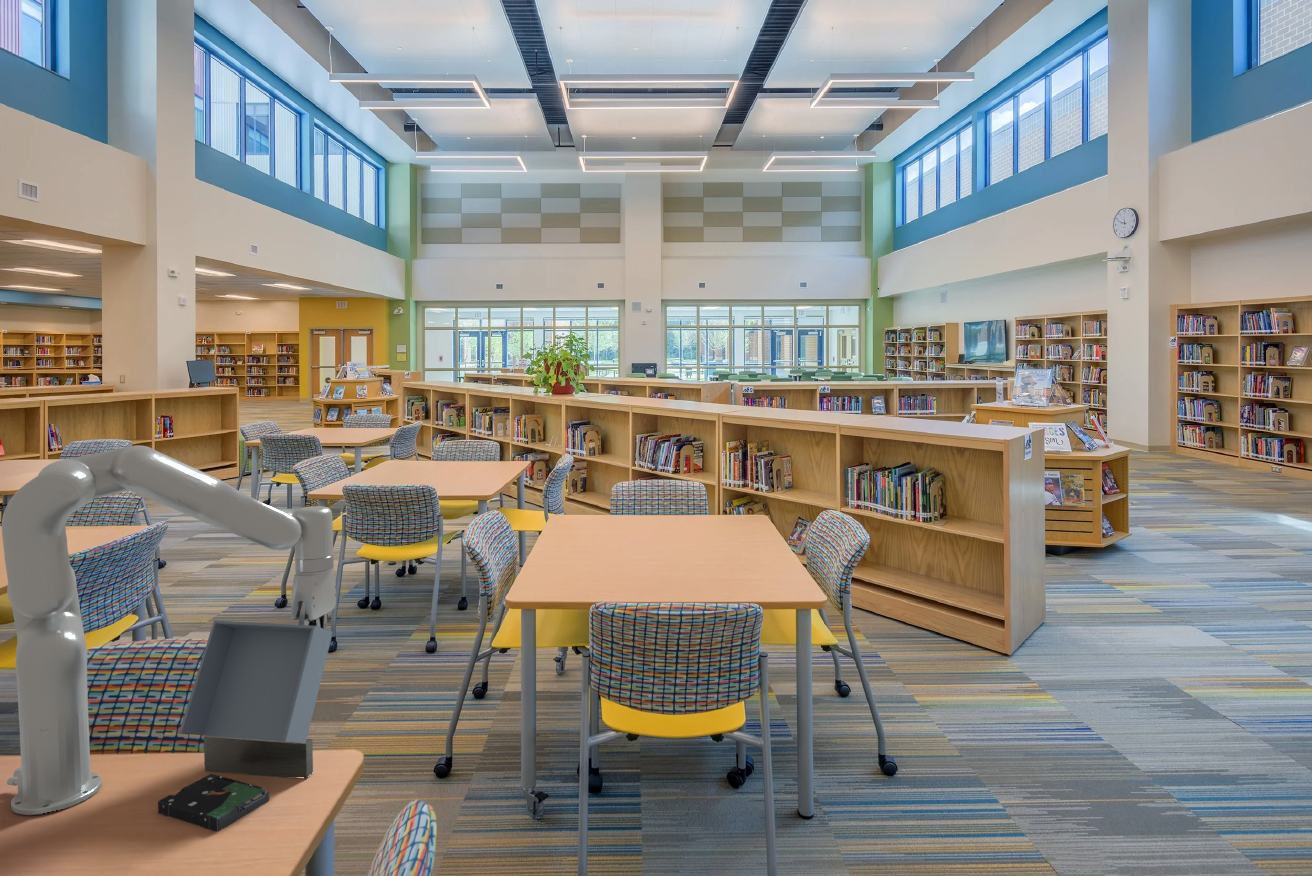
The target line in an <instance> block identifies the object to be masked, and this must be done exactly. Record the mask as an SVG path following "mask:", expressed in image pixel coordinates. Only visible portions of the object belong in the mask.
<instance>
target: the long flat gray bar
mask: <svg viewBox="0 0 1312 876" xmlns="http://www.w3.org/2000/svg"><path fill="white" fill-rule="evenodd" d="M313 751H314V750H313V739H312V738H307V740H306V743H301V742H287V741H273V740H260V739H246V738H232V737H218V736H204V735H203V755H204V757H203V758H204V771H205V772H210V773H211V772H212V773H226V774H236V775H237V774H239V775H249V776H250V775H251V776H260V777H261V776H262V777H274V776H278V777H277V778H286V777H304V778H307V777H308V776H309V775H310V774H312V772H313V773H314V757H313V756H314V755H313ZM312 775H313V774H312Z"/></svg>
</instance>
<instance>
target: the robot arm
mask: <svg viewBox="0 0 1312 876" xmlns="http://www.w3.org/2000/svg"><path fill="white" fill-rule="evenodd" d="M128 491H130V492H132V493H134V494H136V495H139V496H141V497H144V498H146V499H148V500H151V501H152V502H156V503H159V504H161V505H163V506H165V507H167V508H171V509H173V510H175V511H177V512H179V513H182V514H184V515H187V516H189V517H191V518H194V519H195V520H199V522H203V523H205V524H208V525H211V526H214V527H217V528H220V529H222V530H225V531H227V532H228V533H231V534H234V535H236V536H238V537H240V538H243V539H244V540H247V541H250V542H252V543H254V544H257V545H260V546H262V547H264V548H267V549H269V550H272V551H279V552H281V551H287V550H289V549H291V548H293V547H294V569H295V570H294V572H295V573H294V574H293V575H294V576H293V579H292V586H291V587H292V588H291V605H290V613H291V614H290V615H291V616H290V617H291V619H292V620H293V621H297V620H298V625H310V626H317V627H320V628H323V629H326V628H327V624H328V623H327V622H328V618H329V616H331V615H332V614H333V610H334V609H335V608H336V606H337V590H336V589H337V588H336V585H337V584H336V579H335V578H336V577H335V572H334V571H335V570H334V567H335V566H334V563H335V562H334V532H333V531H334V529H333V528H334V526H333V512H332V509H331V508H329V507H328V506H321V505H313V506H311V505H310V506H304V507H301V508H275V507H273V506H270V505H268V504H266V503H263V502H262V501H259V500H258V499H256V498H254V497H252V496H249V495H247V494H245V493H243V492H242V491H240V490H238V489H237V488H235V487H234V486H232V485H231V484H228V483H227V482H225V481H223V480H221V479H219V478H217V477H215V476H212V475H210V474H208V473H206V472H204V471H202V470H200V469H197V468H195V467H193V466H191V465H189V464H186V463H184V462H182V461H180V460H177V459H175V458H174V457H172V456H169V455H166V454H165V453H163V452H161V451H158V450H156V449H153V448H152V447H150V446H146V445H139V444H138V445H130V446H125V447H121V448H120V447H119V448H117V449H112V450H106V451H102V452H97V453H92V454H87V455H80V456H77V457H76V456H75V457H71V458H66V459H65V458H64V459H60V460H57V461H55V462H52V463H50V464H48V465H46V466H45V467H44V468H42V469H41V471H39V473H38V474H37V476H36V477H33V478H32V479H31V480H29V481H28V482H26V483H25V484H23V485H22V486H21V487H20V488H19V489H18V490H17V491H16V492H15V493H14V494H13V496H12V497H10V499H9V501H8V503H7V505H6V506H5V508H4V510H3V515H2V518H1V519H2V520H1V537H2V544H3V545H2V547H3V556H4V564H5V569H6V576H7V577H6V578H7V591H6V594H7V598H8V600H9V603H10V605H11V608H12V614H13V615H12V616H13V620H14V625H15V631H16V632H15V633H16V639H17V642H16V649H15V650H16V651H15V675H16V676H15V677H16V685H17V686H16V688H17V704H18V705H17V706H18V707H17V708H18V710H17V711H18V721H19V722H18V723H19V724H18V725H19V744H20V766H21V767H18V768H16V769H15V770H14V771H13V776H10V777H9V778H8V779H7V780H6V785H8V786H17V793H16V794H15V795H14V796H13V797H12V799H11V802H10V806H11V808H10V809H11V810H12V812H14V813H16V814H19V815H23V816H24V815H25V816H36V815H43V813H45V814H48V813H47V812H50V813H52V812H51V811H54V812H57V811H56V810H58V811H61V809H62V810H64V809H68V808H70V807H72V806H75V805H77V804H80V803H82V802H84V801H86V800H87V799H89V798H91V797H92V796H93V795H95V794H96V793H97V792H98V791H100V789H101V787H102V783H103V782H102V777H101V775H99V774H98V773H95V772H92V771H91V753H90V752H91V751H90V750H91V749H90V748H91V747H90V726H89V723H90V722H89V703H88V702H89V701H88V700H89V699H88V647H87V639H86V634H85V632H84V625H83V620H82V614H81V613H82V612H81V608H80V607H81V606H80V600H79V594H78V593H79V592H78V587H77V586H78V585H77V578H76V572H75V570H74V568H73V566H72V565H71V563H70V556H69V549H68V538H67V532H66V531H67V530H66V525H67V521H68V519H69V518H70V516H71V515H72V514H73V513H74V512H76V511H77V510H79V509H81V508H83V507H84V506H86V505H87V504H88V503H90V502H91V500H95V499H98V498H103V497H107V496H112V495H115V494H119V493H120V494H121V493H123V492H128Z"/></svg>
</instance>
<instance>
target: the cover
mask: <svg viewBox="0 0 1312 876" xmlns="http://www.w3.org/2000/svg"><path fill="white" fill-rule="evenodd" d="M333 633H334V632H333V631H331V630H329V629H326V628H324V629H323V628H320V627H317V626H310V625H299V624H290V623H289V624H288V623H271V622H269V623H268V622H252V621H251V622H249V621H232V620H230V621H228V620H213V623H212V627H211V629H210V632H209V635H208V638H207V642H206V645H205V649H204V651H203V655H202V658H201V661H200V664H199V669H198V672H197V674H196V677H195V680H194V684H193V687H192V689H191V693H190V697H189V700H188V703H187V707H186V709H185V712H184V716H183V718H182V719H183V720H182V722H181V726H180V729H179V733H178V734H179V735H190V736H191V735H192V736H203V737H204V736H218V737H232V738H246V739H260V740H273V741H287V742H301V743H306V740H307V739H308V736H309V731H310V728H311V723H312V719H313V716H314V711H315V706H316V703H317V698H318V695H319V690H320V685H321V682H322V678H323V673H324V669H325V665H326V661H327V658H328V653H329V650H330V645H331V641H332V637H333Z"/></svg>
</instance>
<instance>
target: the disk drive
mask: <svg viewBox="0 0 1312 876" xmlns="http://www.w3.org/2000/svg"><path fill="white" fill-rule="evenodd" d="M269 801H270V792H268V791H267V790H266V788H264V787H263V788H262V787H261V786H259V785H254V784H250V783H247V782H243V781H239V780H236V779H233V778H230V777H229V778H228V777H226V776H222V775H219V774H213V773H210V774H208V775H206V776H204V777H202V778H200V779H199V780H196V781H194V782H192V783H190V784H188V785H186V786H184V787H183V788H180V790H179V792H177V793H176V794H169V795H167V796H165V797H163V798H161V799H159V800H157V814H159V815H162V816H165V817H170V818H173V819H176V820H179V821H182V822H185V823H189V824H190V825H195V826H198V827H202V828H204V829H206V830H210V831H214V832H217V833H219V832H220V831H222V830H223V829H225V828H227V827H229V826H230V825H232V824H234V823H236V822H237V821H239V820H241V819H242V818H243V817H245V816H247V815H249V814H251V813H252V812H254V811H256V810H257V809H259V808H260V807H261V806H263V805H265V804H267V803H269Z"/></svg>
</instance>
